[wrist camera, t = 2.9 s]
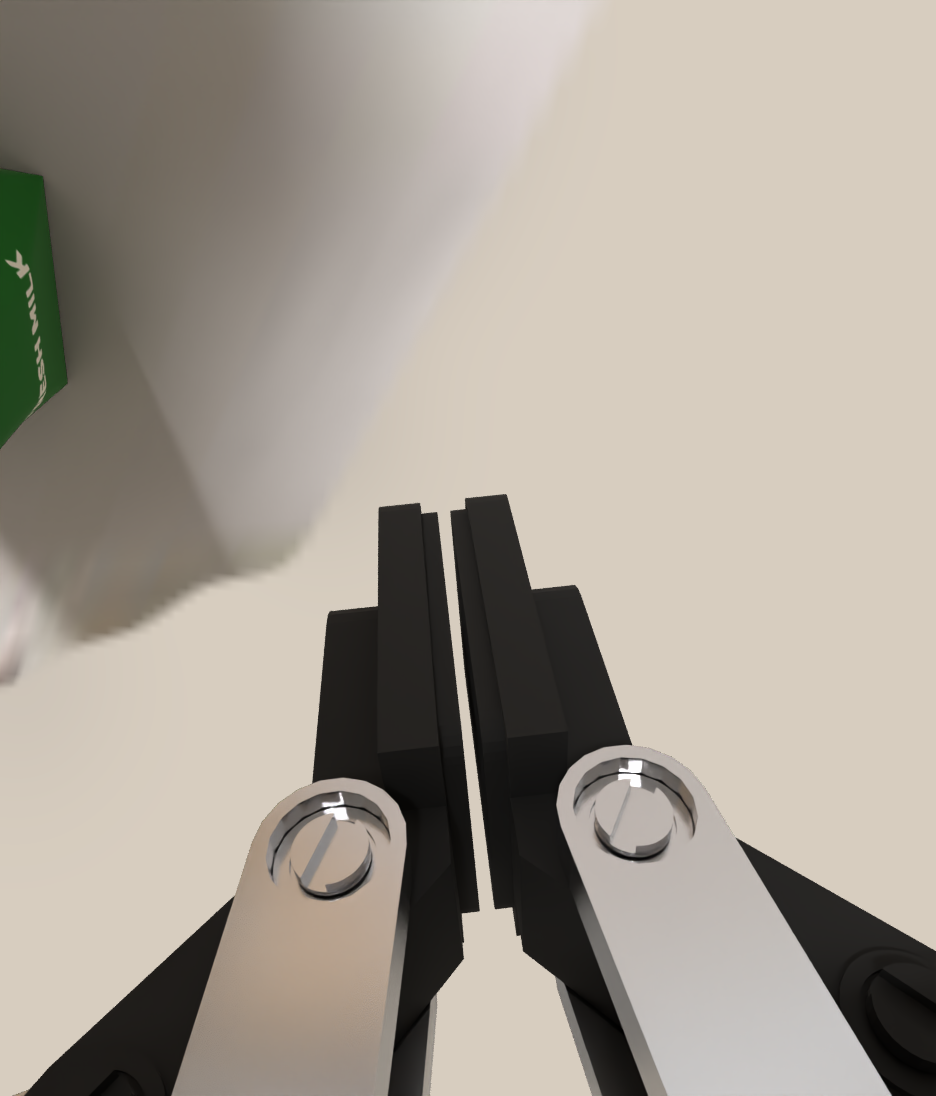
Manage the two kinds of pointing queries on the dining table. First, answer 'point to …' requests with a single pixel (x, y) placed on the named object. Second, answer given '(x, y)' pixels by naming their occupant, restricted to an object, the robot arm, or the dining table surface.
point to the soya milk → (26, 303)
